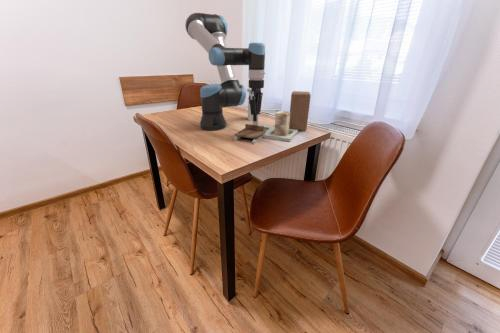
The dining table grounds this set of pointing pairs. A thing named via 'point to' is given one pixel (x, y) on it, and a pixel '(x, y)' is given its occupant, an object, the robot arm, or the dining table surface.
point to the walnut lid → (251, 131)
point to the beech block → (282, 123)
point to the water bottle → (250, 117)
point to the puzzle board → (269, 135)
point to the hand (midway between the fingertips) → (255, 126)
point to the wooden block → (299, 110)
